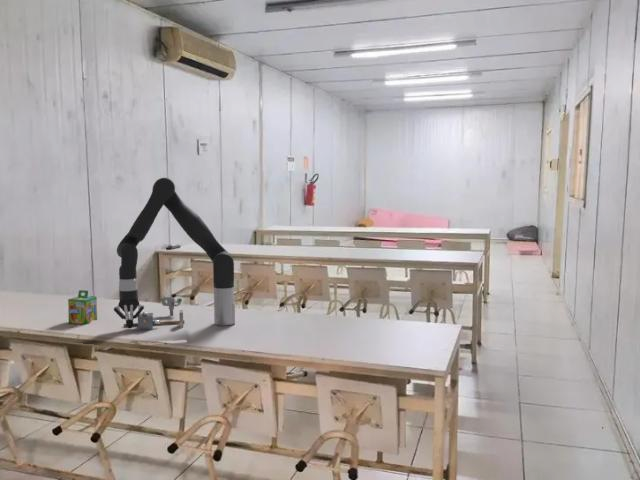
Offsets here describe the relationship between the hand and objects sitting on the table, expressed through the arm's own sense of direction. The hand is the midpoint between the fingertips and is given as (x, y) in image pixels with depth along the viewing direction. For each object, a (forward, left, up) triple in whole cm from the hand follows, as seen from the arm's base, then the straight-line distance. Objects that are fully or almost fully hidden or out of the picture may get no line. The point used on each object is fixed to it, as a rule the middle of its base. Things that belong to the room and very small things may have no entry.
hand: (129, 327), depth 230 cm
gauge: (-8, +1, -1) cm, 8 cm away
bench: (-10, 0, -2) cm, 10 cm away
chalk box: (+23, -24, -2) cm, 33 cm away
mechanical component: (-17, -21, -2) cm, 27 cm away
